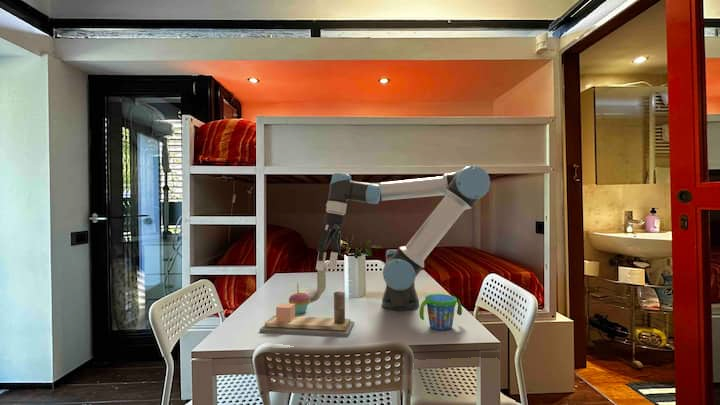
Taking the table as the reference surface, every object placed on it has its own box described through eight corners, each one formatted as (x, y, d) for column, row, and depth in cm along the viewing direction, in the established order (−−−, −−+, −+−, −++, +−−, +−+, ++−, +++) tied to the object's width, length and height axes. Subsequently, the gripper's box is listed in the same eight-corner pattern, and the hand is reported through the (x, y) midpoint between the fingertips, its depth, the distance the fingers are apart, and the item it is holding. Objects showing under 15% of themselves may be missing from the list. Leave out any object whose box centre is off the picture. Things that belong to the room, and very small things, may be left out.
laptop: (300, 289, 183) (300, 262, 183) (326, 289, 182) (325, 263, 182) (290, 299, 166) (290, 270, 165) (318, 300, 164) (318, 270, 164)
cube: (295, 317, 132) (295, 303, 132) (290, 322, 127) (290, 307, 127) (281, 317, 133) (281, 303, 132) (276, 321, 128) (276, 307, 127)
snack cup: (454, 320, 135) (454, 292, 135) (469, 330, 125) (469, 300, 125) (413, 323, 132) (413, 295, 132) (425, 334, 121) (425, 303, 121)
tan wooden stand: (350, 322, 130) (350, 290, 130) (346, 330, 122) (345, 296, 122) (273, 318, 135) (273, 287, 134) (264, 326, 127) (264, 293, 126)
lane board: (354, 324, 132) (354, 321, 132) (347, 336, 120) (347, 333, 120) (273, 320, 137) (273, 317, 137) (259, 332, 125) (259, 329, 125)
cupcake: (306, 315, 143) (305, 283, 142) (285, 314, 144) (284, 282, 144) (313, 308, 151) (313, 278, 151) (293, 307, 153) (293, 278, 152)
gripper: (336, 215, 155) (327, 266, 153) (314, 208, 131) (303, 268, 129) (353, 218, 153) (345, 270, 151) (334, 211, 129) (323, 272, 127)
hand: (325, 269), depth 140 cm, fingers open, 13 cm apart
